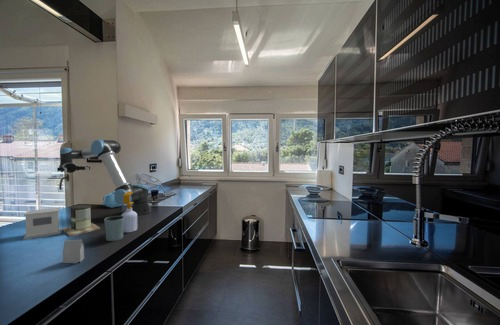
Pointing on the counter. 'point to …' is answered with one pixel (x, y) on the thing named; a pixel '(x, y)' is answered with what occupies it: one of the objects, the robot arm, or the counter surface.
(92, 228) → the pad
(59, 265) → the counter surface
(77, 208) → the coffee can
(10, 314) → the counter surface
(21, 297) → the counter surface
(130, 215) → the spray bottle
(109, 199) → the decorative pot
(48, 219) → the label unit
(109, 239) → the green tapered cup
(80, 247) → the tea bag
